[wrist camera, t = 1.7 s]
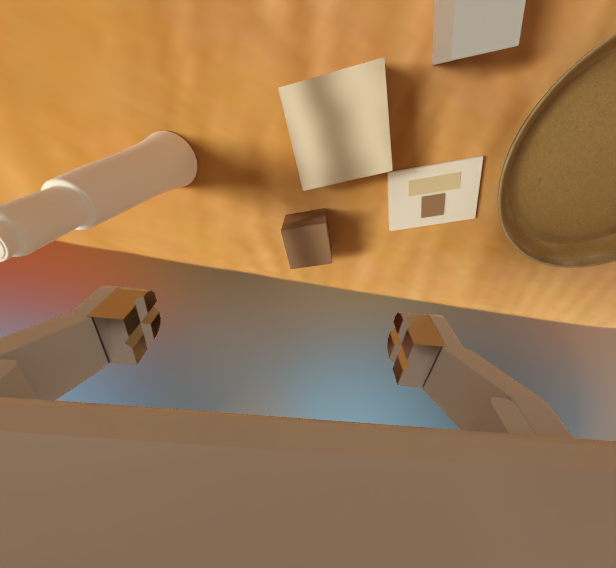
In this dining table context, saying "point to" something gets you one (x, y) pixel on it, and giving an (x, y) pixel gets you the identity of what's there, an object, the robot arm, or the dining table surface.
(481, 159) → the card
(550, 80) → the dining table surface
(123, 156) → the cosmetic bottle
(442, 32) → the grey plastic cube
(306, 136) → the birch base block
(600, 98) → the plant saucer
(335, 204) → the dining table surface
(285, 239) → the walnut cube
